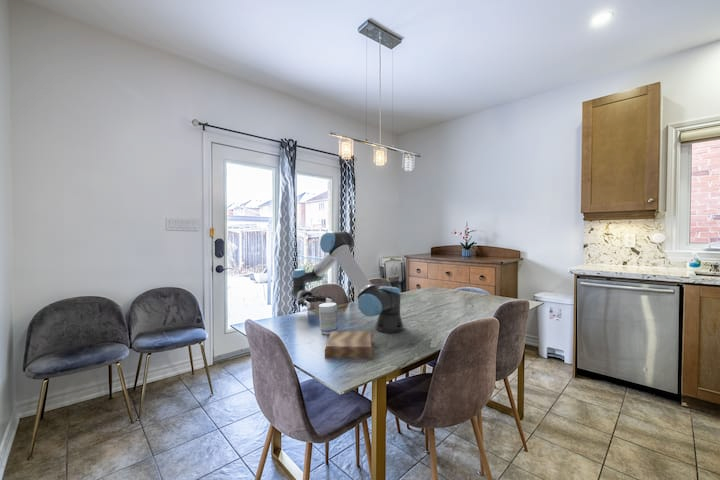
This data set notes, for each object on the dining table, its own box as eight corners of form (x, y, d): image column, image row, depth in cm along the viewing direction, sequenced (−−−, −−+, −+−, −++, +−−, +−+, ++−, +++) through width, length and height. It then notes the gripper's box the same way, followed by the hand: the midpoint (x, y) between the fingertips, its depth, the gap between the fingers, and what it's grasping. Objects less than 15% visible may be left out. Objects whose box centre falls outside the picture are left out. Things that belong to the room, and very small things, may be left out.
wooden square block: (371, 341, 149) (371, 331, 149) (372, 358, 129) (372, 347, 129) (330, 341, 150) (330, 331, 149) (324, 358, 130) (324, 346, 129)
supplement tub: (341, 332, 161) (339, 304, 160) (324, 336, 156) (322, 308, 155) (334, 327, 169) (332, 301, 168) (317, 331, 165) (316, 304, 164)
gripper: (323, 300, 195) (340, 307, 178) (285, 305, 182) (299, 313, 164) (323, 288, 195) (340, 294, 177) (285, 292, 181) (299, 300, 164)
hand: (320, 304), depth 171 cm, fingers open, 13 cm apart
